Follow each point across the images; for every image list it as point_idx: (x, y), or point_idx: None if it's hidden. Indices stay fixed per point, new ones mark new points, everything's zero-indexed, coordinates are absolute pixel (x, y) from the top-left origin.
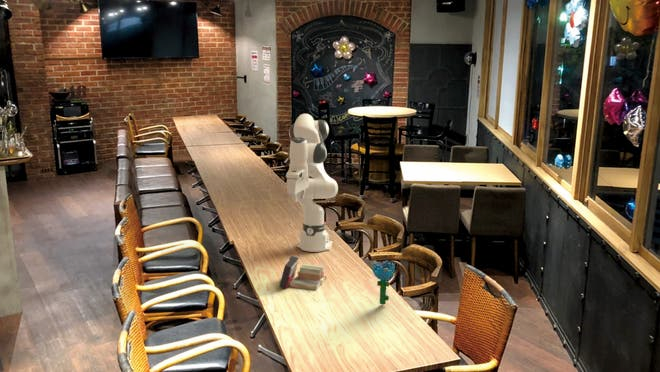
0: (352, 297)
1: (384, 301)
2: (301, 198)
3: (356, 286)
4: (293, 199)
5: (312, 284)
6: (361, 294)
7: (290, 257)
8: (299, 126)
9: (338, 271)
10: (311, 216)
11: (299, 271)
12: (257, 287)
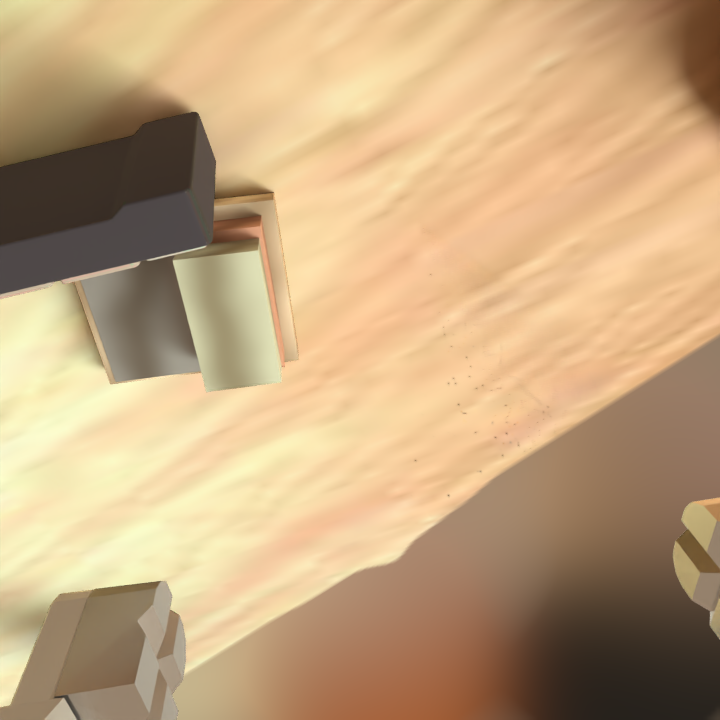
0: (142, 530)
1: None
2: (691, 530)
3: (283, 495)
4: (34, 695)
5: (117, 358)
6: (199, 543)
7: (132, 205)
8: None
9: (460, 344)
10: None
11: None
12: None
